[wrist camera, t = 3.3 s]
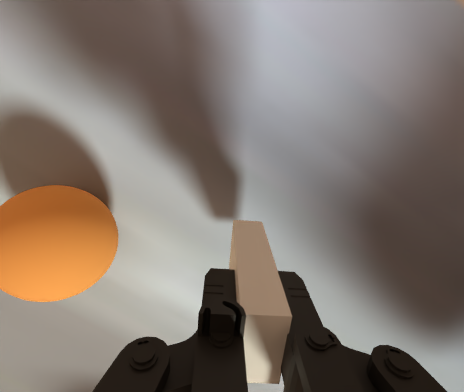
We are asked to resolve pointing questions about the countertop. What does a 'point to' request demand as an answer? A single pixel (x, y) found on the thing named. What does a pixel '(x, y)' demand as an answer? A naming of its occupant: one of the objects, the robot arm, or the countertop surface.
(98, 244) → the ball
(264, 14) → the countertop surface
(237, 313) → the robot arm
